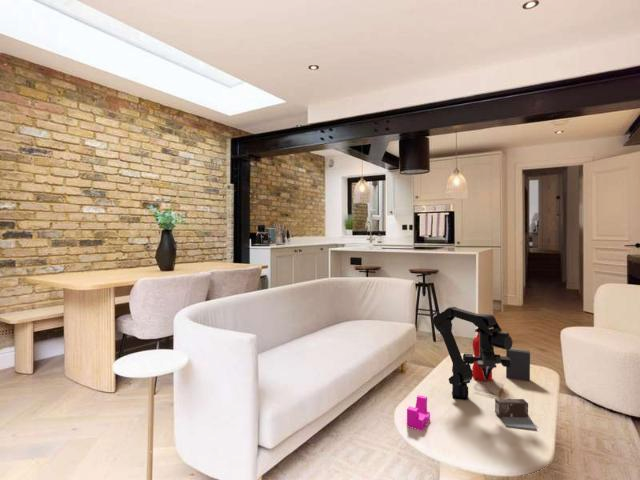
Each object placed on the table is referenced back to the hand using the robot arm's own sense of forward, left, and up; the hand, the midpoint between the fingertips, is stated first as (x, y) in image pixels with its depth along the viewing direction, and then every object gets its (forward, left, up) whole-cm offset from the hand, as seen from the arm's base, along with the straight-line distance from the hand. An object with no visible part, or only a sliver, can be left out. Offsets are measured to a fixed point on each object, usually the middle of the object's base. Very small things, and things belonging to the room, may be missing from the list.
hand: (486, 379), depth 163 cm
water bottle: (+3, +37, -13) cm, 39 cm away
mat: (+10, -6, -13) cm, 18 cm away
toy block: (-28, -18, -13) cm, 36 cm away
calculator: (+22, +41, -13) cm, 48 cm away
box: (+3, -6, -10) cm, 12 cm away
